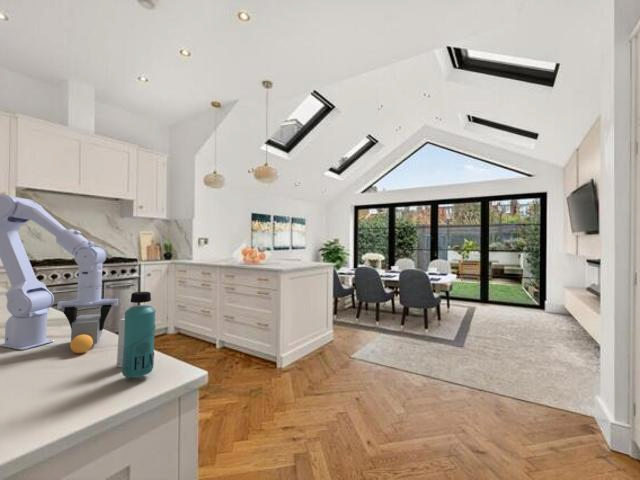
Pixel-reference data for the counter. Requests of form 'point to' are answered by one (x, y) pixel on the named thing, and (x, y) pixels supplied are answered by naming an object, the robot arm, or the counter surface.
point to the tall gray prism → (87, 327)
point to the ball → (81, 343)
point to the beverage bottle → (139, 337)
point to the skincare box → (120, 343)
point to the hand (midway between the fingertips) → (87, 330)
